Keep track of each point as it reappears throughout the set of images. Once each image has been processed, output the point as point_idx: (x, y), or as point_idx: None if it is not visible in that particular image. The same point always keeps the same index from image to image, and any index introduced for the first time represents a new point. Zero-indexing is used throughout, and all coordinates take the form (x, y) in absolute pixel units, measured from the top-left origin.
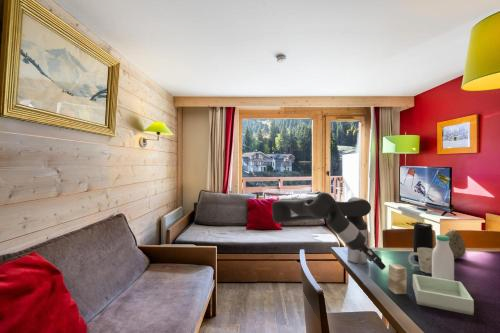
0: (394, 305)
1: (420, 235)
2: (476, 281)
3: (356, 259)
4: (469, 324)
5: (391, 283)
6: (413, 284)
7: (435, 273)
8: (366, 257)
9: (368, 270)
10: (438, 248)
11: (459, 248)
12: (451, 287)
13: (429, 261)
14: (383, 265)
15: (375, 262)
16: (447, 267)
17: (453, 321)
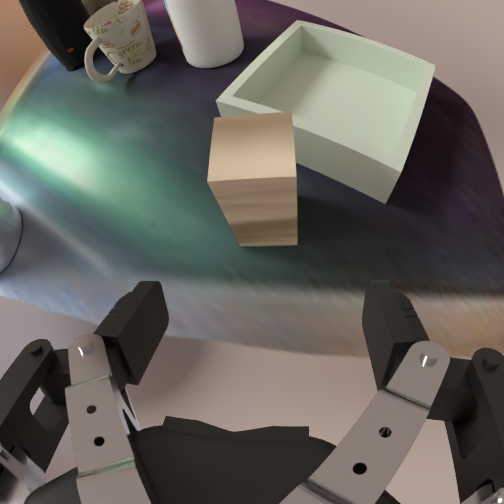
0: None
1: (53, 5)
2: None
3: (2, 252)
4: (473, 140)
5: (260, 231)
6: None
7: (209, 43)
8: (148, 363)
9: (64, 241)
10: None
11: None
12: (294, 50)
13: (141, 31)
14: (410, 311)
15: (478, 427)
16: (232, 3)
17: (471, 168)
